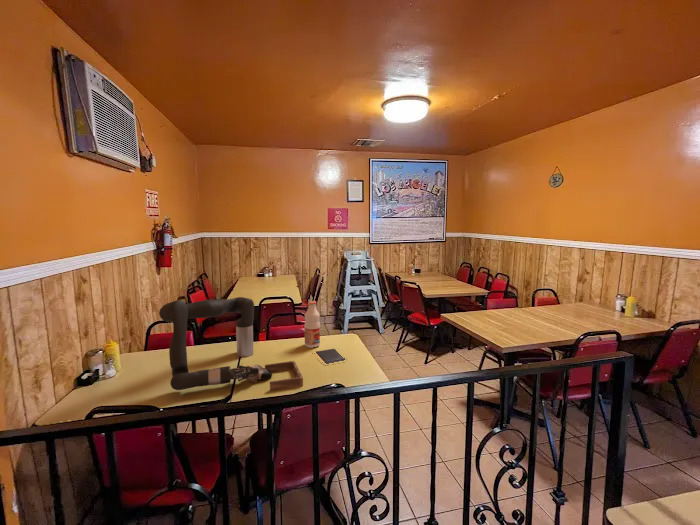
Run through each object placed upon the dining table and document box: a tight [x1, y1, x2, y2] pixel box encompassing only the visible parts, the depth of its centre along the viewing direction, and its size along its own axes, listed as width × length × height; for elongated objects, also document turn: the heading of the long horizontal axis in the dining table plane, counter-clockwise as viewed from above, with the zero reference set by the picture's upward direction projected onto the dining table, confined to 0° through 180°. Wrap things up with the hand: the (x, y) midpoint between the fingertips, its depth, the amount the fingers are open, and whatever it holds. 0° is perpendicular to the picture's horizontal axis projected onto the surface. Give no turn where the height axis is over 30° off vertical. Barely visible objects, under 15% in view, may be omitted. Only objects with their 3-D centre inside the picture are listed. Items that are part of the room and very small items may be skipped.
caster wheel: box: [245, 364, 273, 384], centre depth 169 cm, size 7×11×10 cm
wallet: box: [314, 348, 346, 364], centre depth 196 cm, size 20×2×15 cm
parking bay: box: [264, 360, 304, 392], centre depth 169 cm, size 20×15×4 cm
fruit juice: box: [304, 300, 321, 349], centre depth 211 cm, size 9×9×28 cm
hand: (258, 370), depth 164 cm, fingers closed
